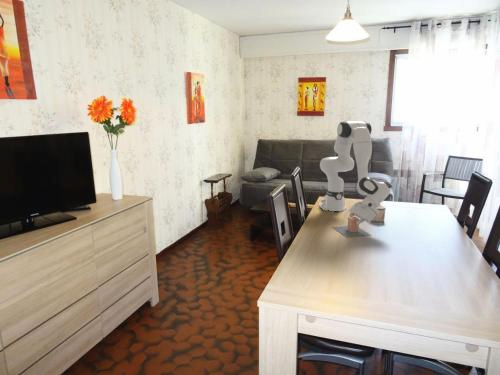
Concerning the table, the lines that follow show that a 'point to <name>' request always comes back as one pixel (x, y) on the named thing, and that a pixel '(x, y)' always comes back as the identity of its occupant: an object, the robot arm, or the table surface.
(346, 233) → the charcoal mat
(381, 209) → the teacup with lid
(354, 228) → the terracotta block
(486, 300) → the table surface
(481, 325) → the table surface
